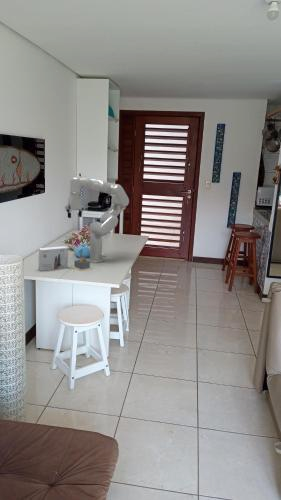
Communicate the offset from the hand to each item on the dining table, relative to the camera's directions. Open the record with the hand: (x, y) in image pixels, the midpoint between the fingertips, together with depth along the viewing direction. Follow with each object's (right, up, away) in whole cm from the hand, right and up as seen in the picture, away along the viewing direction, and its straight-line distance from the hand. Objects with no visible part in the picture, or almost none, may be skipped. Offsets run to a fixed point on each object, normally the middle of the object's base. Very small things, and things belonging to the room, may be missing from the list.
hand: (74, 217), depth 283 cm
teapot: (+2, -30, +32) cm, 44 cm away
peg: (+6, -37, 0) cm, 38 cm away
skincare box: (-14, -38, -6) cm, 41 cm away
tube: (+6, -38, 0) cm, 38 cm away
